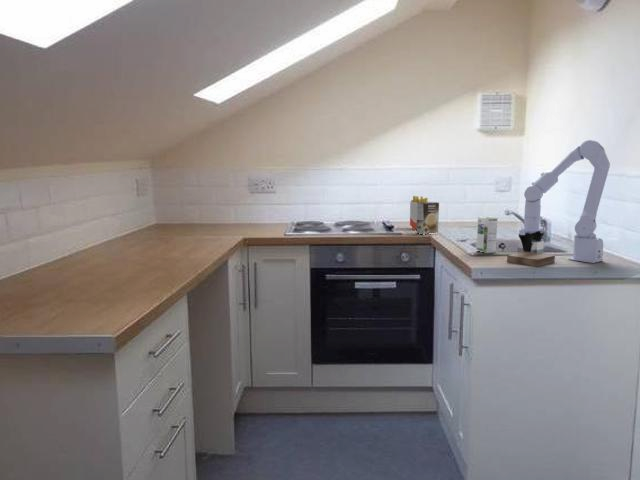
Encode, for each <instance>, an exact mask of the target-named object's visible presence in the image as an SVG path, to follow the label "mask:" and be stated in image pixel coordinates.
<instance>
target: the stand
mask: <svg viewBox="0 0 640 480" xmlns="http://www.w3.org/2000/svg"><path fill="white" fill-rule="evenodd" d="M506 257H507V258H506V262H508V263H512V264H513V263H514V264H518V265H525V266H531V267H540V266H542V267H543V266H545V265H549V264H553V263H555V261H556V260H555V259H556V255H554V254H553V255H552V254H547V253H543V254H540V253H533V252H526V251H524V252H519V253H518V252H516V253H510V254H507V256H506Z"/></svg>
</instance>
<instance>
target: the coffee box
mask: <svg viewBox="0 0 640 480" xmlns="http://www.w3.org/2000/svg"><path fill="white" fill-rule="evenodd" d="M439 213H440V202H435V201H428V202H419V203H417V230H415V231H416V232H415V233H420V234H429V233H436V232H438V233H439V215H440V214H439ZM420 234H419V235H420Z"/></svg>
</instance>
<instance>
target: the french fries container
mask: <svg viewBox="0 0 640 480" xmlns="http://www.w3.org/2000/svg"><path fill="white" fill-rule="evenodd" d="M428 200H429V198H428V197H423V196H420V198H419V196H418V195H413V196H412V199H411V201H410V202H409V204H410V205H409V207H410V208H409V211H410V212H409V226H410V227H411V228H412V230H414V229H417V203H419V202H429V201H428Z"/></svg>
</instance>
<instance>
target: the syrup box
mask: <svg viewBox="0 0 640 480" xmlns="http://www.w3.org/2000/svg"><path fill="white" fill-rule="evenodd" d="M497 232H498V217H496V216H494V217H493V216H489V215H485V216H484V215H481V216H478V217H477V233H476V250H478V251H480V252H479V253H482V252H484V253H483V254H492V253H493V254H494V253H496V252H497V234H498V233H497Z"/></svg>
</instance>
